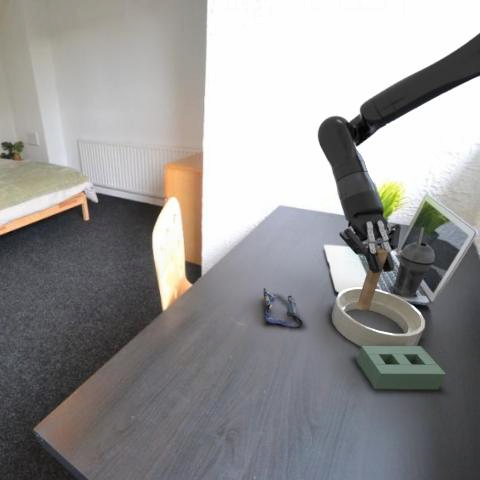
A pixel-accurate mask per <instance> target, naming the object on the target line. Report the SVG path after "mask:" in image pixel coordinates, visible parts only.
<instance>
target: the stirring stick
mask: <svg viewBox="0 0 480 480" xmlns="http://www.w3.org/2000/svg"><path fill="white" fill-rule="evenodd" d="M375 249H376V248H375ZM375 254H377V255H378V258H379V261H380V264H381V267H382V270H383V266H384V263H385V260H386V257H387V254H388V252H387V251H385V250H384V249H376V253H375ZM381 274H382V272H379V273H372V271H371V270H370V269H369V267H368V268H367V271H366V274H365V278H364V282H363V285H362V287H361V288H362V291H361V294H360V297H359V301H358V304H357V306H358V307H359V308H360V309H359V310H361V311H370V310H369V308H370V305H371V302H372V299H373V296H374V293H375V290H376V289H377V286H378V285H379V280H380V277H381Z"/></svg>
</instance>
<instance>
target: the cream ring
mask: <svg viewBox="0 0 480 480" xmlns="http://www.w3.org/2000/svg"><path fill="white" fill-rule="evenodd" d="M362 288H363V287H350V288H346V289H343V290H342V291H340V292H338V294H337V296H336V298H335V301H334V305H333V308H332V312H331V321H332V324H333V326H334V327H335V329H336V330H337V331H338V332H339V333H340V334H341V335H342V336H343V337H345V338H346V339H347V340H349V341H350V342H351V343H353V344H356V345H357V346H359V347H361V346H418V344H419V342H420V339H421V337H422V335H423V333H424V330H425V327H426V320H425V318H424V316H423V314H422V313H421V311H420V310H418V308H416V307H415V305H413V304H411V303H410V302H409V301H407V300H406V299H404V298H402V297H400V296H397V295H395V294H393V293H390V292H387V291H384V290H382V289H381V290H380V289H377V288H376V290H375V293H374V296H373V299H372V302H371V305H370V308H369V310H368V311H370V312H374V313H377V314H380V315H382V316H384V317H387V318H389V319H390V320H392V321H393V322H394V323H396V324H397V325H398V326H399V327H400V328H401V329H402V331H403V333H393V332H386V331H381V330H378V329H375V328H372V327H370V326H366V325H364V323H361V322H359V321H357V320H356V319H354V318H353V317H351V315H349V314H348V312H350V311H353V310H360V308H359V307H358V306H357V304H358V301H359V297H360V294H361V291H362Z"/></svg>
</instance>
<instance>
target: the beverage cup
mask: <svg viewBox="0 0 480 480" xmlns="http://www.w3.org/2000/svg"><path fill="white" fill-rule="evenodd" d="M424 231H425V227H421V229H420V234H419V238H418V241H414V242H411V243H408V244H407V245H405V246H404V247H403V249H402V250H401V252H400V253H399V264H398V269H397V274H396V278H395V282H394V285H393V286H394V288H393V290H394V292H395V293H397V294H398V295H400V296H403V297H407V298H408V297H409V298H410V297H414V296H415V294H416V293H417V291H418V290H419V288H420V286H421V285H422V282H423V281H424V278H425V277H426V275H427V273H428V271H429V270H430V269H431V267H432V266H433V265H434V263H435V258H436V254H435V251H434V249H433V248H432V247H431V246H430V245H429V244H428V243H425V242H422V240H423V235H424Z"/></svg>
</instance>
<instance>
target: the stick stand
mask: <svg viewBox="0 0 480 480" xmlns="http://www.w3.org/2000/svg"><path fill="white" fill-rule="evenodd" d="M356 362H357V364H358V365H359V367H360V368H361V370H362V372H363V373H364V375H365V376H366V377H367V379H368V381H369V382H370V384H371V385H372V387H373V389H374V390H439V388H440V387H441V384H443V383H442V382H443V380H444V379H445V377H446V374H447V373H446V371H444V369H442V368H441V367H440V366H439V365H438V363H437V362H436V361H435V360H434V359H433V358H432V357H431V356H430V354H429V353H428V352H427V351H426V350H425V349H424V348H423V346H421V345H417V346H360V350H359V352H358V356H357V358H356Z"/></svg>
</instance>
